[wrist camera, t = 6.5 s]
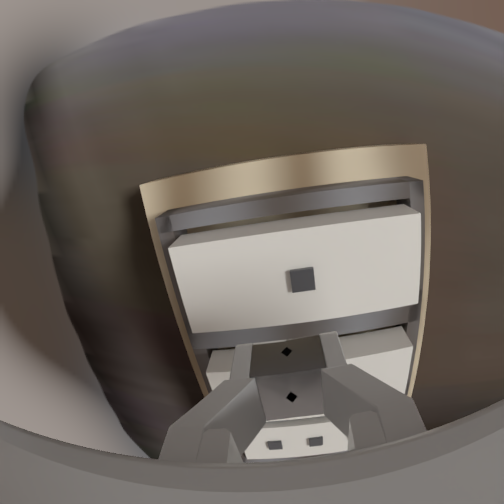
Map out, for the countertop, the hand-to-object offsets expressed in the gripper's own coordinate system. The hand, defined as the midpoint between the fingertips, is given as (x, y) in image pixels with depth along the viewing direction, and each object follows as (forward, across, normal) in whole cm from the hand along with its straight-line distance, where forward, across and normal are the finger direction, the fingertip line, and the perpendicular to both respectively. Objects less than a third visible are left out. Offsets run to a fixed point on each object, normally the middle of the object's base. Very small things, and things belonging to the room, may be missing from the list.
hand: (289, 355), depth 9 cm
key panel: (+11, -1, +7) cm, 13 cm away
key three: (+8, -1, +14) cm, 16 cm away
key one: (+6, -1, 0) cm, 7 cm away
